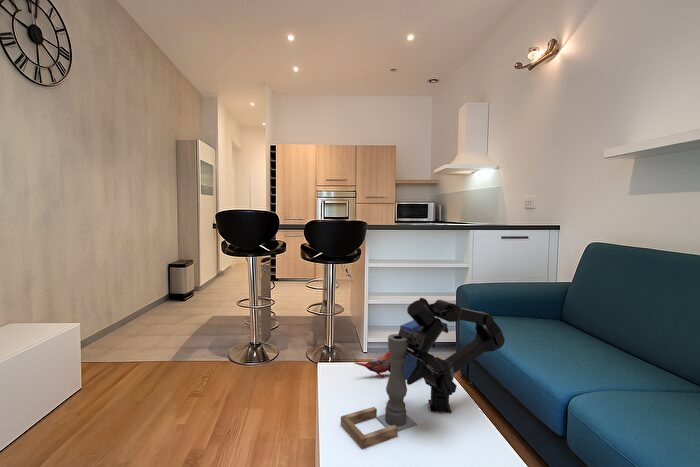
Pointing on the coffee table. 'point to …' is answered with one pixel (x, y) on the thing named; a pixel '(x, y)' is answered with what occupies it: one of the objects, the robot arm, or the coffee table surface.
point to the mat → (408, 424)
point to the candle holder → (396, 382)
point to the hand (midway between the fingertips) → (397, 377)
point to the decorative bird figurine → (378, 364)
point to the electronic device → (410, 359)
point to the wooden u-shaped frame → (369, 438)
